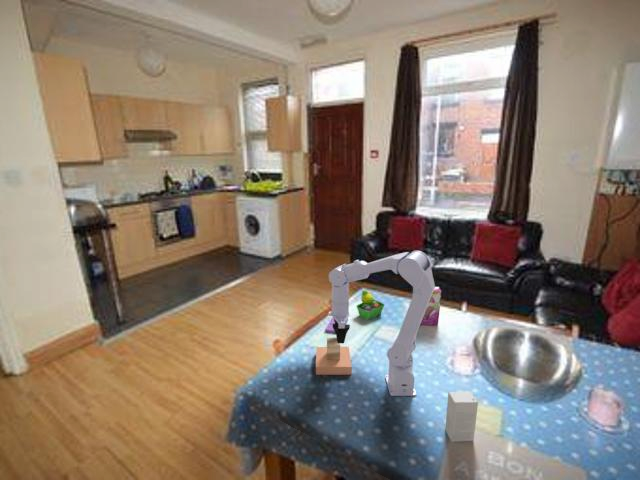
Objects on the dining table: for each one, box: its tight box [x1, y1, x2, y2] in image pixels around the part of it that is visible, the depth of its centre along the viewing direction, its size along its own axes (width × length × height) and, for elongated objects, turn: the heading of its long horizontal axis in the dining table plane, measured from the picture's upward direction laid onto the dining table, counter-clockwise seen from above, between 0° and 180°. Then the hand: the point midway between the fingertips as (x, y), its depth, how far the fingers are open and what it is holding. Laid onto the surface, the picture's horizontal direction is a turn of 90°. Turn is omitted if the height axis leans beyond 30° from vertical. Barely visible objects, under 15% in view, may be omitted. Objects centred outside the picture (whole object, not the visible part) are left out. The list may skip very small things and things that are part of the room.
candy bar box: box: [411, 286, 442, 327], centre depth 144 cm, size 11×5×16 cm, turn 84°
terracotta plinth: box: [315, 346, 353, 376], centre depth 117 cm, size 12×12×3 cm
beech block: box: [326, 337, 341, 360], centre depth 116 cm, size 4×4×6 cm
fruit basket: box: [356, 289, 385, 320], centre depth 152 cm, size 11×9×11 cm
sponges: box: [324, 316, 349, 334], centre depth 144 cm, size 7×13×2 cm, turn 162°
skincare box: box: [444, 390, 479, 443], centre depth 86 cm, size 6×4×12 cm
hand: (340, 336), depth 116 cm, fingers open, 7 cm apart
